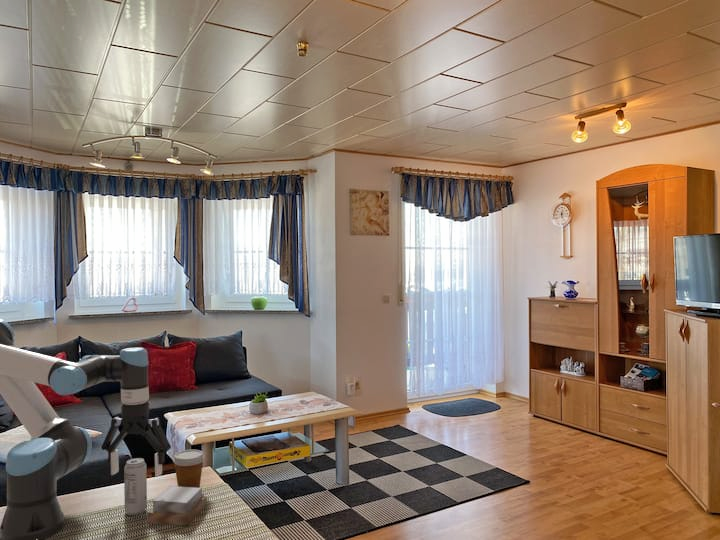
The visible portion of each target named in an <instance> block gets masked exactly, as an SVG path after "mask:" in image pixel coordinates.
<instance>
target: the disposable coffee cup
mask: <svg viewBox="0 0 720 540" xmlns="http://www.w3.org/2000/svg"><path fill="white" fill-rule="evenodd" d="M204 459H205V455H204V451H202V450H199V449H185V450H181V451H178V452H177V453H175V454H174V456H173V459H172V462H173V464H174V468H175V476H176V482H177V486H178V487H194V488H201V487H200V486H201V479H202V478H201V477H202V472H203V463H204V462H203V461H204Z"/></svg>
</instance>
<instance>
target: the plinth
mask: <svg viewBox="0 0 720 540" xmlns="http://www.w3.org/2000/svg"><path fill="white" fill-rule="evenodd" d="M202 488H203V487H200V488H194V487H178V485H176V486H175V485H170V486H168V487H167V488H166V489H165V490H163V491H162V492H161V493H160V494H158V495H157V497H155V498H154V499H153V500H152V508H151V509H150V510H148V511H147V524H152V523H153V524H154V525H155V524H156V525H168V526H169V525H170V526H181V525H189V526H191V525H192V523H193V522H194V521H195V520H196V519H197V518H198V516H200V514H201V513H202V512H203V511H204V510H205V509H206V508H207V496H202V495H203V493H202V492H203V490H202ZM196 517H197V518H196ZM195 518H196V519H195Z"/></svg>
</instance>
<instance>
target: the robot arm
mask: <svg viewBox="0 0 720 540" xmlns="http://www.w3.org/2000/svg"><path fill="white" fill-rule="evenodd" d="M15 336H16V335H15V332H14V329H13V327H12V326H11V325H10V324H9V323H8V322H7V321H6V320H4V319H2V318H0V395H1V396H2V398H3V399H4V401H5V403H7V405H8V407H10V409H11V410H12V412H13V413H14V414H15V415H16V417H17V419H18V420H19V422H20V423H21V424H22V426H23V427H24V429H25V430H26V431H27V433H28V434H29V435H30V440H24V441H22V442H20V443H17V444H16V445H14V446H13V447H12V448H11V449H10V450H9V451H8V452H7V455H6V463H5V471H6V473H5V474H6V475H5V476H6V479H5V480H6V509H5V512H4V515H3V518H2V520H1V524H0V539H1V540H36V539H41V540H43V539H42V538H44V539H46V538H45V537H47V538H49V537H50V536H53V535H55V534H56V533H58V532H59V531H60V530H61V529H62V528H63V527H64V525H65V516H64V513H63V511H62V508H61V505H60V502H59V500H58V497H57V481H58V480H59V479H61V478H63V477H65V476H66V475H68V474H69V473H71V472H72V471H75V470H78V468H79V467H81V466H82V465H83V464H85V463H86V461H87V460H89V458H90V456H91V454H92V448H93V442H92V438H91V436H90V433H89V432H88V431H87V430H86V429H85V428H83V427H79V426H73V425H72V423H71V422H70V420H69V419H68V418H63V417H62V418H61V417H60V416H59V415H58V413H57V412H56V411H55V410H54V408H53V407H52V405H51V404H50V402H49V401H48V400H47V398H46V397H45V396H44V394H43V392H42V391H41V390H40V389H39V387H38V386H37V384H39V385H44V386H48V387H51V390H52V391H54V392H55V393H56V394H58V395H60V396H68V395H75V394H77V393H79V392H80V391H83V390H85V389H87V388H91V387H93V386H96V385H98V384H100V383H103V382H104V383H105V382H120V402H121V405H120V410H121V411H120V414H121V417H120V416H118V415H117V416H116V417H114V418H113V417H112V419H111V420H110V427H109V430H108V431H107V434H106V436H105V437H104V438H105V439H104V440H103V443H102V445H101V450H103V451H104V450H105V451H106V452H107V455H108V456H107V458H108V459H107V460H108V463H110V475H111V476H115V474H117V473H120V472H119V470H120V467H119V463H120V462H119V461H120V460H119V449H117V447H118V446H119V444H120V443H121V442H122V441H123V440H124V438H126V436H127V435H138V436H140V435H141V436H142V437H144V438H145V440H146V441H147V442H148V443H149V444H150V446H151V447H152V448H153V450H154V451H155V452H156V453H154V477H155V478H158V477H159V476H160V475H162V474H163V464H165V460H166V458H165V454H166V452H168V451H169V450H171V448H172V446H171V444H170V442H169V439H168V437H167V435H166V433H165V431H164V430H163V427H162V425H161V420H160V418H159V417H155V418H150V416H149V415H150V401H149V399H150V392H149V391H150V389H149V364H150V363H149V356H148V350H147V349H146V348H144V347H127V348H123V349H121V350H120V352H119V355H118V354H117V355H113V354H112V355H111V354H109V355H106V354H103V355H102V354H100V355H99V354H91V355H84V356H82V358H81V359H80V360H79V361H77V362H74V361H69V360H66V359H62V358H58V357H55V356H50V355H46V354H42V353H38V352H33V351H31V350H30V351H29V350H26V349H21V348H18V347H16V345H14V344H15V338H14V337H15ZM120 425H121V426H122V427H123V428H122V429H121V431H120V432H119V434H118V435H117V437H115V435H116V433H117V431H118V429H119V426H120ZM149 425H150V426H149ZM152 430H153V431H152ZM153 432H154V433H153ZM114 437H115V439H114Z"/></svg>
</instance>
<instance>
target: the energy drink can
mask: <svg viewBox="0 0 720 540" xmlns="http://www.w3.org/2000/svg"><path fill="white" fill-rule="evenodd" d="M147 468H148V467H147V463H146V462H145V459H144V458H142V457H135V458H130V459H128V460H127V461H126V464H125V466H124V468H123V473H124V474H123V478H124V479H123V480H124V481H123V482H124V483H123V486H124V487H123V489H124V490H123V491H124V495H123V496H124V512H125V513H126V515H127V514H128V515H127V516H130V515H136V516H139V515H138V514H140V515H142V514H144V513H145V512H144V511H146V510H147V508H148V505H147V504H148V492H147V491H148V490H147V489H148V488H147V487H148V486H147V485H148V484H147V482H148V480H147V476H148V475H147V474H148V473H147V471H148V470H147ZM143 512H144V513H143ZM141 513H142V514H141Z"/></svg>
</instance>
